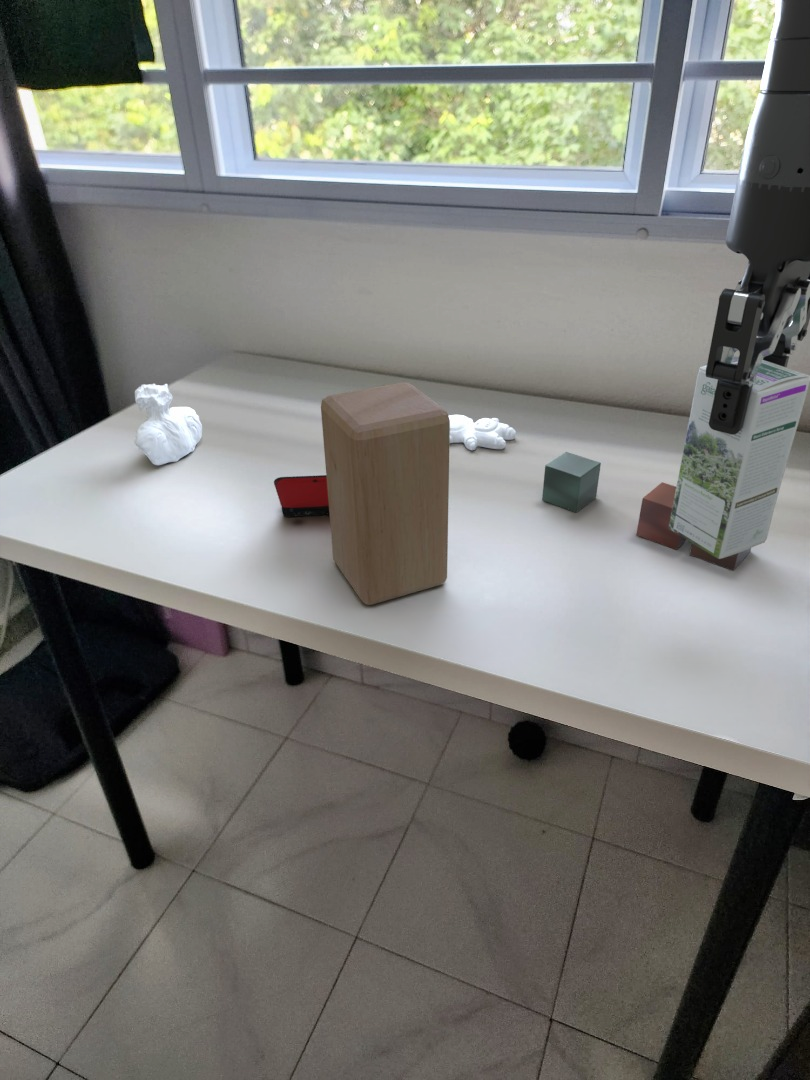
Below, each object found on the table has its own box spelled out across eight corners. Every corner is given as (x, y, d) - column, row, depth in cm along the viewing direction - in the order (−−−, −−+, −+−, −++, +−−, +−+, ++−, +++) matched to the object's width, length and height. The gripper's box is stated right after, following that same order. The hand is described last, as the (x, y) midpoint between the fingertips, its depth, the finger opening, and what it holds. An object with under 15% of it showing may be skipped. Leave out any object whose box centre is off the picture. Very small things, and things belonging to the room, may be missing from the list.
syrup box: (768, 543, 62) (817, 372, 54) (716, 562, 59) (759, 387, 52) (714, 512, 66) (752, 351, 58) (664, 530, 64) (696, 364, 56)
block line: (750, 551, 85) (761, 513, 82) (733, 570, 82) (743, 532, 79) (562, 485, 98) (566, 451, 96) (541, 500, 95) (544, 465, 93)
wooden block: (330, 561, 84) (316, 393, 74) (410, 540, 88) (408, 377, 77) (364, 611, 77) (353, 431, 66) (450, 585, 80) (454, 411, 69)
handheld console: (382, 486, 99) (380, 434, 95) (383, 529, 90) (381, 474, 86) (288, 489, 99) (282, 437, 95) (279, 532, 90) (272, 477, 86)
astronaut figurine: (495, 457, 106) (496, 437, 104) (423, 439, 111) (423, 420, 110) (522, 435, 112) (523, 416, 110) (452, 418, 117) (452, 400, 116)
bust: (198, 450, 115) (151, 388, 112) (225, 428, 110) (177, 363, 108) (144, 484, 106) (92, 417, 103) (171, 462, 101) (117, 392, 99)
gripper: (830, 192, 41) (759, 461, 50) (895, 166, 50) (825, 398, 59) (698, 182, 45) (654, 432, 54) (779, 159, 55) (730, 377, 63)
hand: (743, 414), depth 57 cm, fingers closed on syrup box, 7 cm apart
